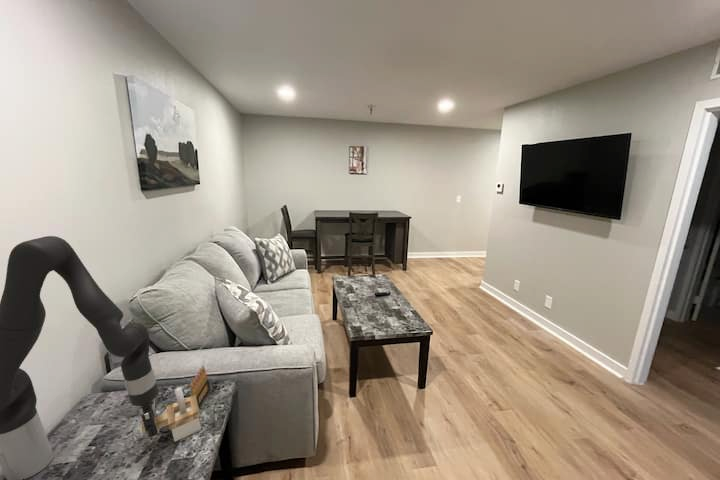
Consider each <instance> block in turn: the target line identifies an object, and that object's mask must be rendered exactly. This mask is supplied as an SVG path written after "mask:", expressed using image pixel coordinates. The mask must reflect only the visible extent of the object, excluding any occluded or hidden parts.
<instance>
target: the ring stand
mask: <svg viewBox="0 0 720 480" xmlns="http://www.w3.org/2000/svg"><path fill="white" fill-rule="evenodd" d="M174 392H175V393H174V394H175V397H176V402H178V407H179V412H177V413H175V417H177V416H179V415H181V414H183V413H186V412H188V411H190V410H192V408H191V407H189V408H186V405H185V401H184V399H185V397H184V393H183V388H182V387H181V386H178V387H176V388H175V389H174ZM201 430H202V427H201V422H200V417H199V418H197V419H195V420H192V421H190V422H188V423H186V424H183V425H181V426H179V427H177V428H175V429H172V430H171V432H172V436H173V437H172V438H173V441H174V442H173V443H175V442H177V441H180V440H182V439H183V438H186V437H189V435H192V434H194V433H197V432H199V431H201Z"/></svg>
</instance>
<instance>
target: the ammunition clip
mask: <svg viewBox="0 0 720 480" xmlns="http://www.w3.org/2000/svg"><path fill="white" fill-rule="evenodd" d="M189 384H190V385H189V386H190V394H191V396H193V395H196V399H197V403H198V408H199V409H200V408H201V406H202V404H203V402H204V401H205V399H206V398H207V396H208V394H209V392H210V391H211V385H210V384H211V383H210V380H209V378H208V375H207V371H206V369H205V366H204V365H201V368H199V371H197V373H196V374H195V376H194V377H193V378H192V381H190V383H189Z"/></svg>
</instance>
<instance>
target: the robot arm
mask: <svg viewBox="0 0 720 480" xmlns="http://www.w3.org/2000/svg"><path fill="white" fill-rule="evenodd" d="M9 253H10V254H9V256H8V261H7V266H6V274H5V275H6V276H5V282H4V287H3V291H2V295H1V297H0V298H1V299H0V468H1V470H2V473H3V474H4V476H5V479H6V480H23V479H24V480H27V479H29V478H31V477H33V476H35V475H37V474H39V473H40V472H41V471H42V470H44V469H45V468H46V467H47V466H48V465H50V464H51V462H52V460H53V459H54V455H55V454H54V451H53V448H52V446H51V443H50V440H49V437H48V435H47V433H46V429H45V428H44V425H43V423H42V421H41V417H40V415H39V412H38V410H37V407H36V406H37V400H38V399H37V395H36V394H37V393H36V392H35V388H34V385H33V382H32V381H33V380H32V379H31V376H30V375H29V374H28V373H27V372H26V370H24V369H22V368H20V367H21V366H22V364H23V363H24V361H25V359H26V358H27V357H28V355H29V354H30V353H31V351H32V349H33V348H34V345H35V344H36V343H37V341H38V339H39V337H40V334H41V332H42V330H43V327H44V323H45V321H46V316H47V315H46V314H47V313H46V309H45V305H44V304H43V301H42V299H41V291H42V289H43V285H44V282H45V280H46V278H47V276H48V274H49V273H50V272H55V273H56V274H57V275H58V276H60V277H61V279H63V280H64V281H65V284H67V285H68V288H69V290H70V293H71V297H72V299H73V302H74V305H75V307H76V309H77V310H78V311H79V313H80V315H82V316H83V318H85V320H87V321H88V322H89V324H91V325H92V326H93V327H94V328H95V329H96V331H97V334H98V335H99V338H100V340H101V341H102V343H103V345H104V347H105V349H106V350H107V351H108V353H109V354H111V355H113V356H115V357H119V358H123V359H122V360H121V363H120V368H121V372H122V377H123V379H124V385H125V390H126V392H127V393H126V394H127V396H128V400H129V403H130V405H132V406H133V407H134V406H135V407H138V408H139V413H140V416H141V417H140V418H141V420H142V422H143V423H144V427H145V431H146V432H147V431H148V434H147V435H148V436H149V438H153V437H155V436H157V435H158V434H159V433H158V432H159V431H158V429H157V428H156V422H155V417H157V411H156V408H155V407H156V400H155V398H156V397H157V396H158V395H159V393H160V391H159V385H158V382H157V379H156V375H155V372H154V370H153V367H152V364H151V360H150V359H151V358H150V356H149V355H150V353H149V352H150V334H149V333H150V332H149V330H148V329H147V328H146V326H145V325H144V324H142V323H141V322H132V323H128V324H127V325H126V326H124V327H123V328H122V325H121V321H122V320H123V317H124V313H123V311H122V310H121V309H120V308H119V307H118V305H116V303H114V302H113V301H112V299H111V298H110V297H109V296H108V295H107V294H106V293H105V292H104V291H103V290H102V288H100V286H99V285H98V283H97V282H96V281H95V279H94V278H93V276H92V275H91V274H90V272H89V271H88V269H87V268H86V266H85V264H84V263H83V262H82V260H81V258H80V257H79V256H78V254H77V253H76V251H75V250H74V248H73V247H72V246H71V244H70V243H69V242H68V241H66V240H65V239H64V238H61V237H59V236H56V235H49V236H42V237H38V238H33V239H30V240H25V241H21V242H20V243H18V244H16V245H14V247H13V248H12V250H11V252H9Z"/></svg>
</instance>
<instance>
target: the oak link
mask: <svg viewBox="0 0 720 480" xmlns="http://www.w3.org/2000/svg"><path fill="white" fill-rule="evenodd" d="M184 401H185V405H186V408H189V407H191V408H192V410H190V411H188V412H186V413H183V414H181V415H179V416H177V417H175V413H177V412H179V407H178V402H177V401H176V402H174V403H172V404H169V405H167V406H165V407H166V412H164V413H162V414H160V415H156V417H155V422H156V428H157V430H159V429H161V428H165V426H168V428H169V429H168V430H169V431H172V429H175V428H177V427H179V426H181V425H183V424H186V423H188V422H190V421H192V420H195V419H197V418H199V419H200V418H201V413H200V408H198V403H197V399H196V395H193V396H192V395H191V396H188V397H186V398H184ZM141 432H142V435H143V436H146V435H149V434H148V431H147V432H146V431H145V427H144V423H143V421H142V422H141Z"/></svg>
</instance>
